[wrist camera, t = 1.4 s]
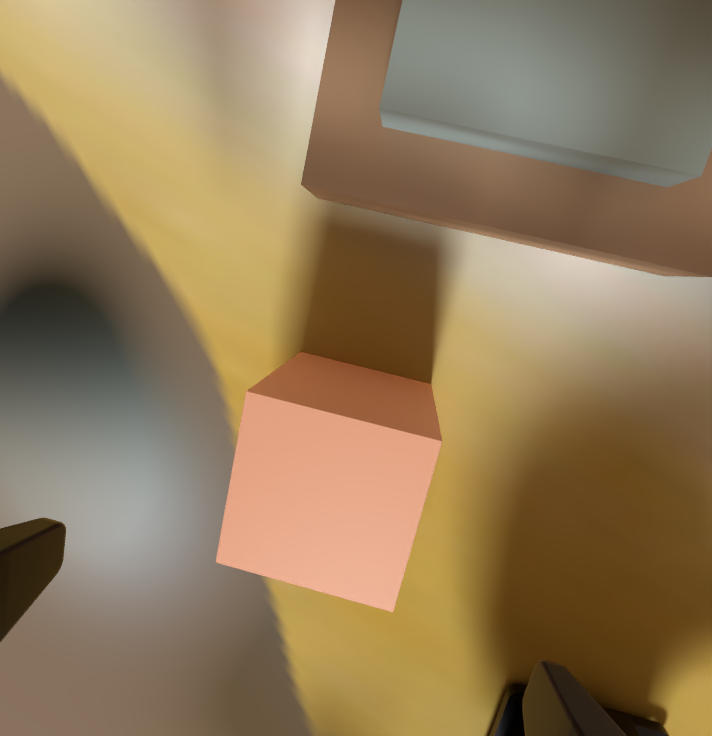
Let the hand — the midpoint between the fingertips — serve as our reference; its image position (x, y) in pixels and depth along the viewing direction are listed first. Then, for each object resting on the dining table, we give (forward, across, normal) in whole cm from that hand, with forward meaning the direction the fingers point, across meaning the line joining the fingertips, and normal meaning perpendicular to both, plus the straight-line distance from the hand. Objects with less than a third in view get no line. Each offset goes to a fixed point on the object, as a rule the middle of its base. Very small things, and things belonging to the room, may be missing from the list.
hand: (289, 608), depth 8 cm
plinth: (+10, -3, -14) cm, 17 cm away
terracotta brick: (+10, 0, 0) cm, 10 cm away
